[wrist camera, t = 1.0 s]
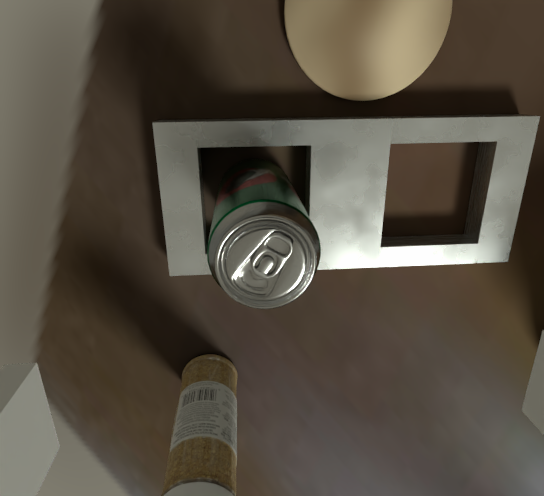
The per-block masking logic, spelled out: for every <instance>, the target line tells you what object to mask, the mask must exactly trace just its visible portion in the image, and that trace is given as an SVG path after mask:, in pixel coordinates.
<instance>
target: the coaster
mask: <svg viewBox="0 0 544 496" xmlns="http://www.w3.org/2000/svg"><path fill="white" fill-rule="evenodd" d="M452 1H453V0H285V3H284V21H285V29H286V35H287V39H288V42H289V46H290V49H291V51H292V53H293V56H294V58H295V60H296V61H297V63H298V65H299V66H300V68H301V69H302V71H303V72H304V73H305V74H306V76H307V77H308V78H309V79H310V80H311V81H312V82H313V83H314V84H316V85H317V86H318V87H320V88H321V89H323V90H324V91H326V92H328V93H330V94H332V95H334V96H337V97H340V98H344V99H349V100H358V101H367V100H376V99H380V98H384V97H387V96H389V95H392V94H394V93H396V92H398V91H400V90H402V89H404V88H405V87H407V86H408V85H410V84H411V83H412V82H413V81H415V80H416V79H417V78H418V77H419V76H420V75H421V74H422V73H423V72H424V71H425V70H426V69H427V67H428V66H429V65H430V63H431V62H432V61H433V59H434V58H435V56H436V54H437V53H438V51H439V49H440V47H441V45H442V43H443V40H444V38H445V36H446V33H447V29H448V26H449V23H450V17H451V12H452Z"/></svg>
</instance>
